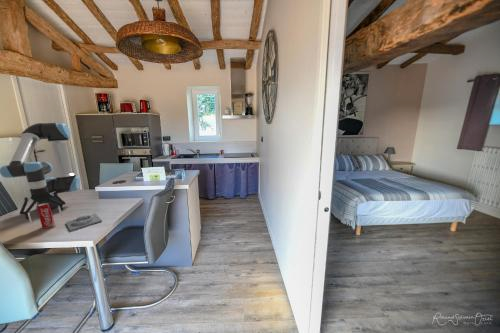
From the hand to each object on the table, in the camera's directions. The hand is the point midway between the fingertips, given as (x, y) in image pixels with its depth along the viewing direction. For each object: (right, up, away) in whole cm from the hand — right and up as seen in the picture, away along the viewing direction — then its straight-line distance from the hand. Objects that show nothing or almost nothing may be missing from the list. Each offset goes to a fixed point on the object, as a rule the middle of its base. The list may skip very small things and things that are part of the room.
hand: (46, 219), depth 129 cm
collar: (+20, -3, +5) cm, 21 cm away
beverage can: (0, -5, +1) cm, 5 cm away
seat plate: (+20, -3, +5) cm, 21 cm away
